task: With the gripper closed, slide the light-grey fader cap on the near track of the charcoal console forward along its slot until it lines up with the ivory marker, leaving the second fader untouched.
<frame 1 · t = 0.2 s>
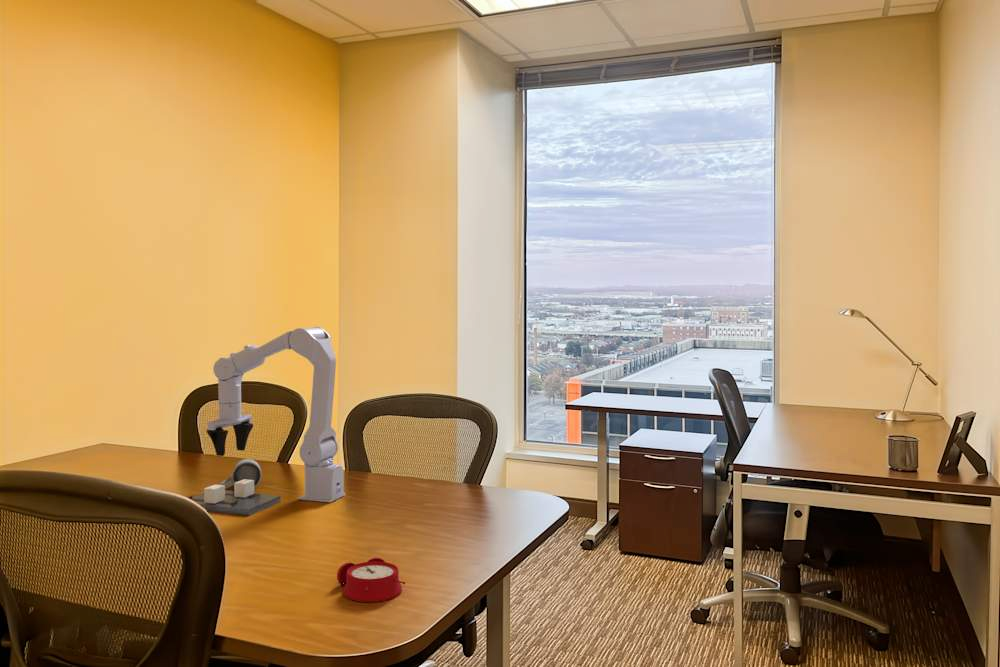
hand: (230, 452, 210), 10 cm above the table, tool pointing down, fingers open, 7 cm apart
alarm clock: (369, 590, 142), on the table
ceramic mug: (241, 488, 213), on the table
fader b: (214, 493, 193), point 3 cm above the table, slide at 0.0 cm
console: (230, 504, 196), on the table
fader a: (244, 488, 199), point 3 cm above the table, slide at 0.0 cm
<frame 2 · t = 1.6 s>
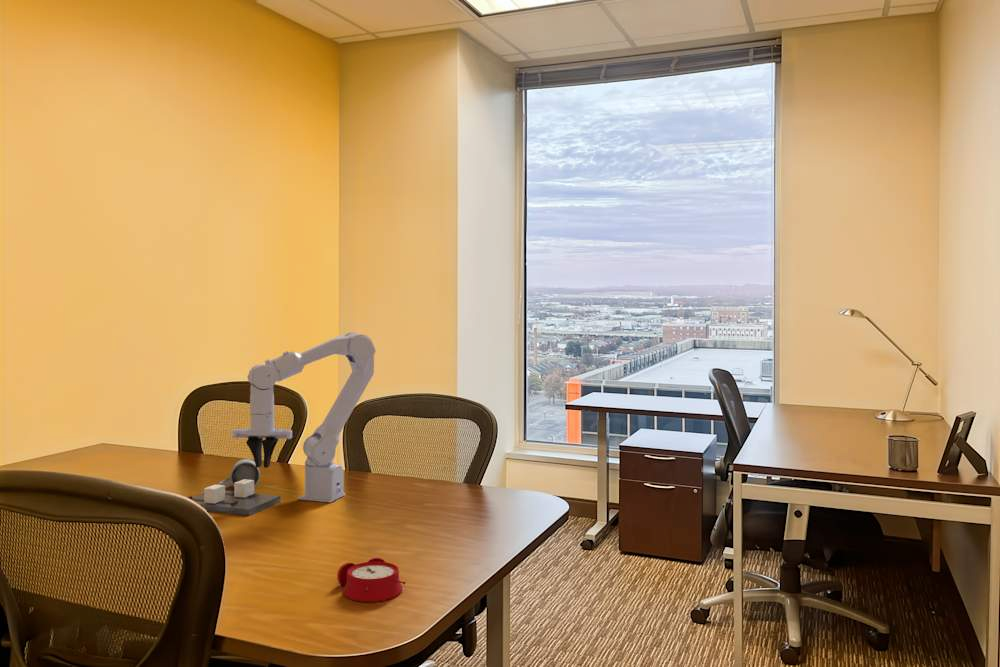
hand: (262, 466, 197), 9 cm above the table, tool pointing down, fingers closed
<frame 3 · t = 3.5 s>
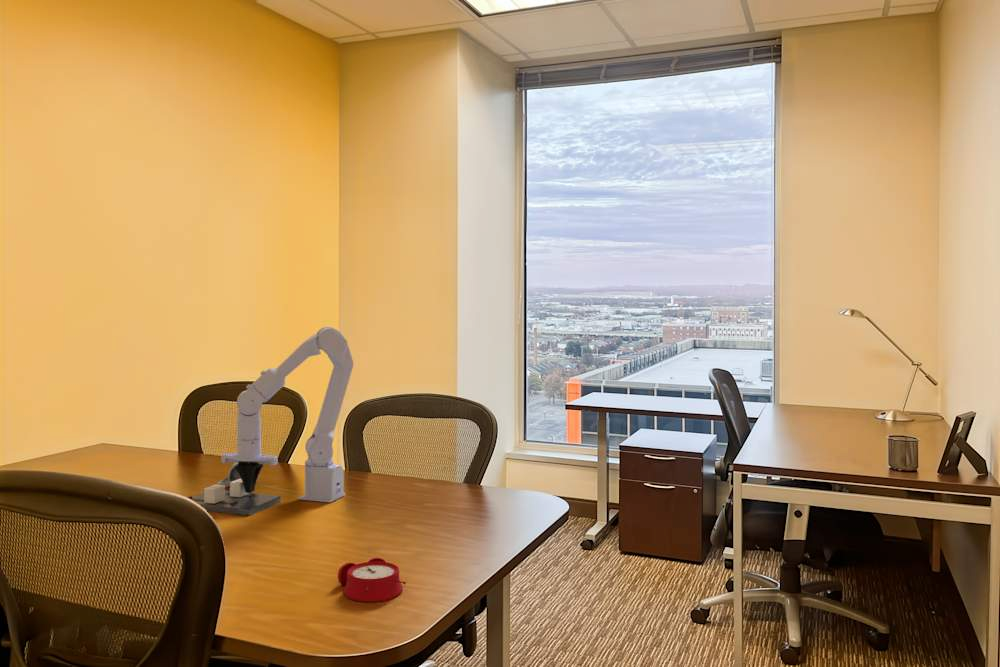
hand: (249, 491, 198), 3 cm above the table, tool pointing down, fingers closed
fader a: (239, 487, 199), point 3 cm above the table, slide at 1.4 cm, touching gripper
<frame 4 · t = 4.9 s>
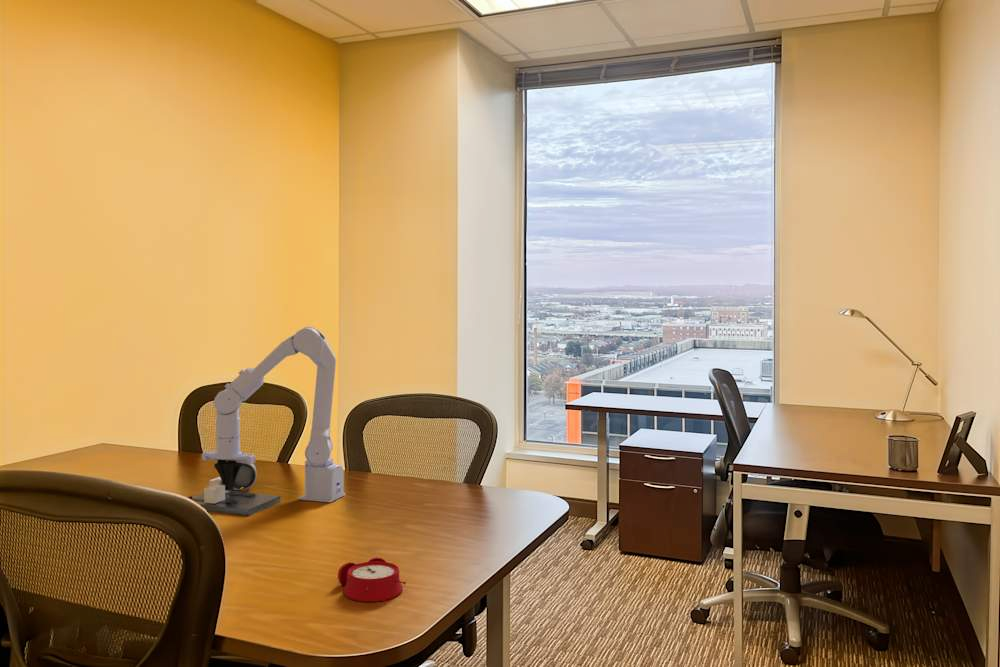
hand: (228, 489, 200), 3 cm above the table, tool pointing down, fingers closed
fader a: (219, 485, 201), point 3 cm above the table, slide at 7.5 cm, touching gripper
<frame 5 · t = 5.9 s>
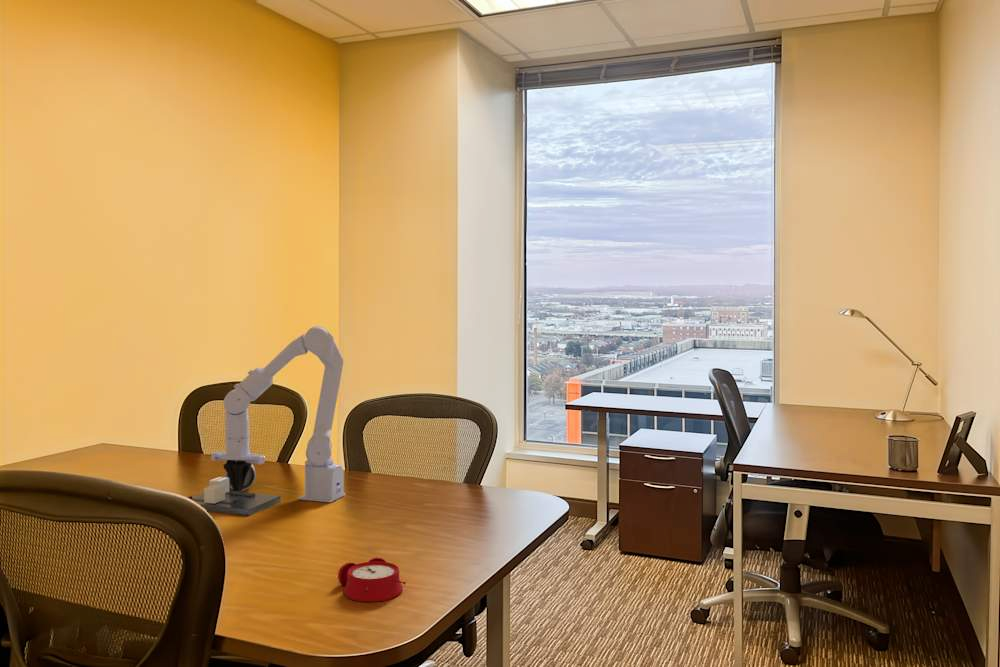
hand: (238, 490, 199), 3 cm above the table, tool pointing down, fingers closed
fader a: (219, 485, 201), point 3 cm above the table, slide at 7.5 cm
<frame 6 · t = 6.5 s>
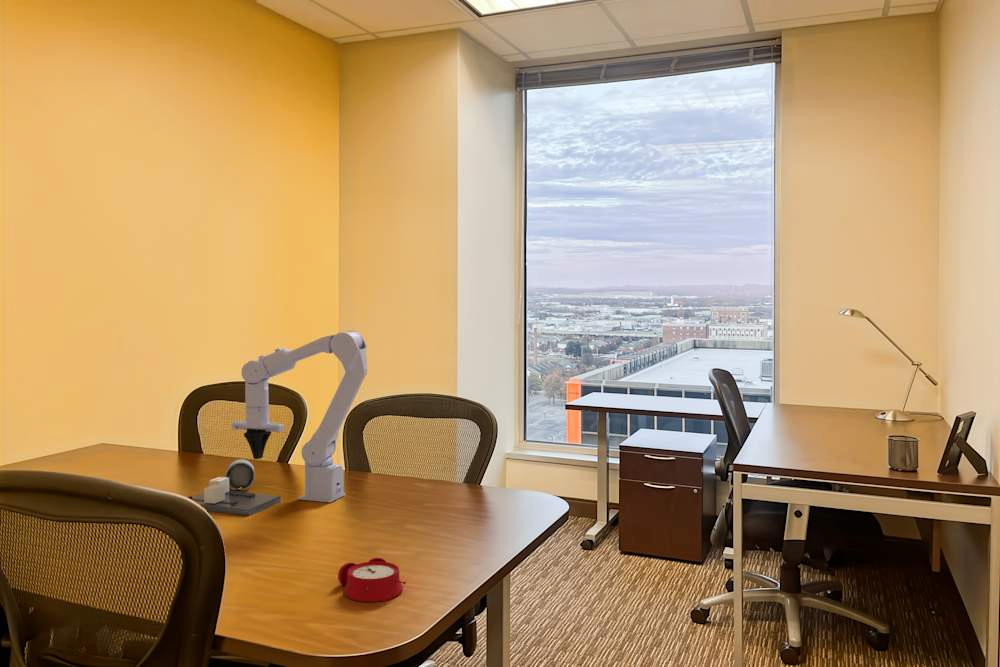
hand: (258, 458, 204), 10 cm above the table, tool pointing down, fingers closed
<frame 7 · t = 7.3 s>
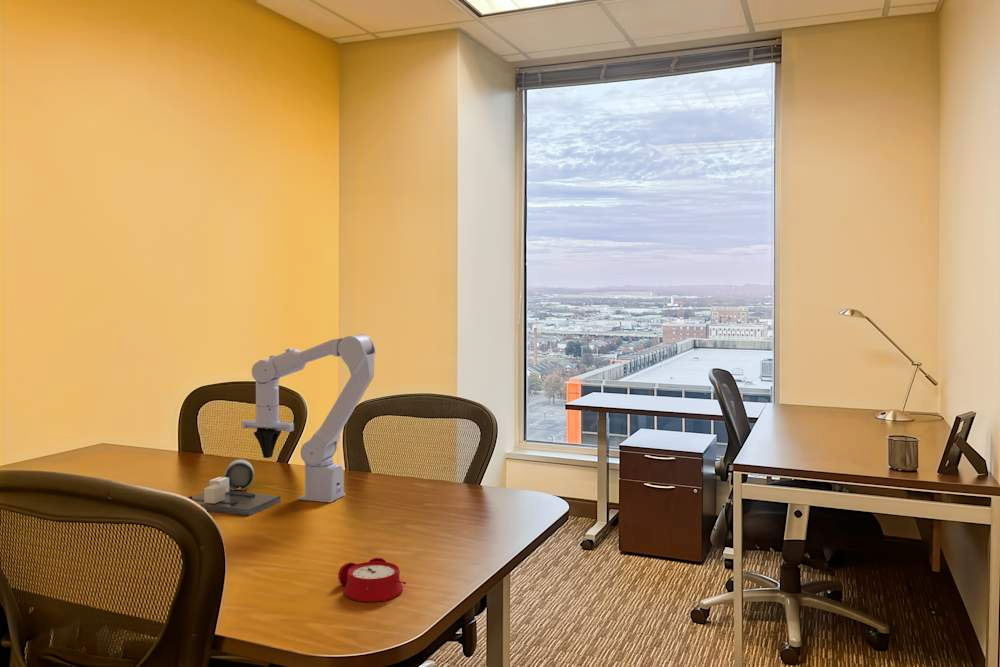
hand: (267, 457, 205), 10 cm above the table, tool pointing down, fingers closed
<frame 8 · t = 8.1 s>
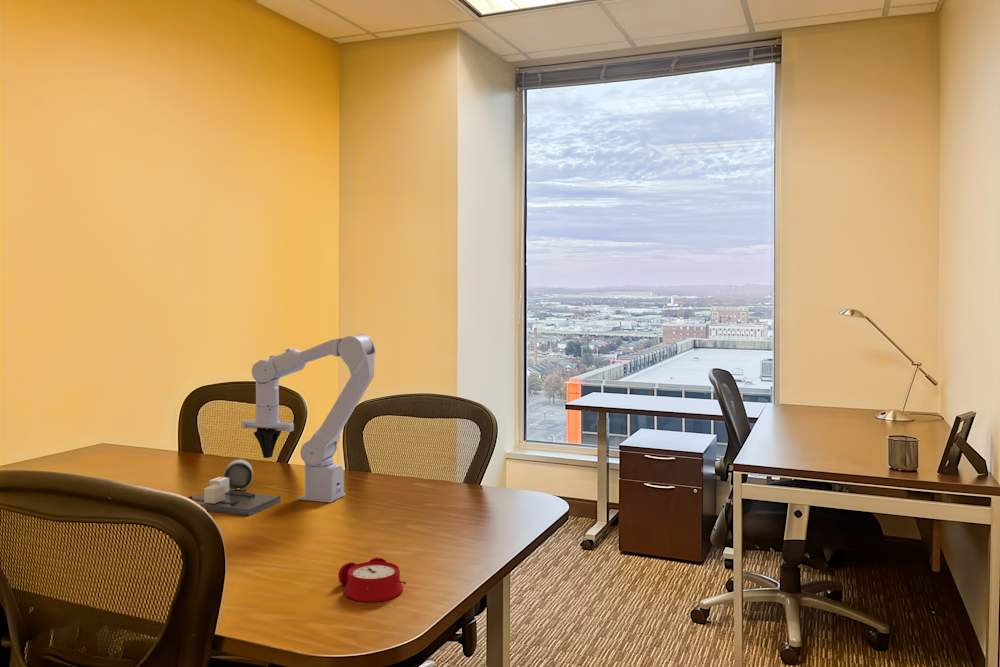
hand: (267, 457, 205), 10 cm above the table, tool pointing down, fingers closed
at the end: fader a slide at 7.5 cm; fader b slide at 0.0 cm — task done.
